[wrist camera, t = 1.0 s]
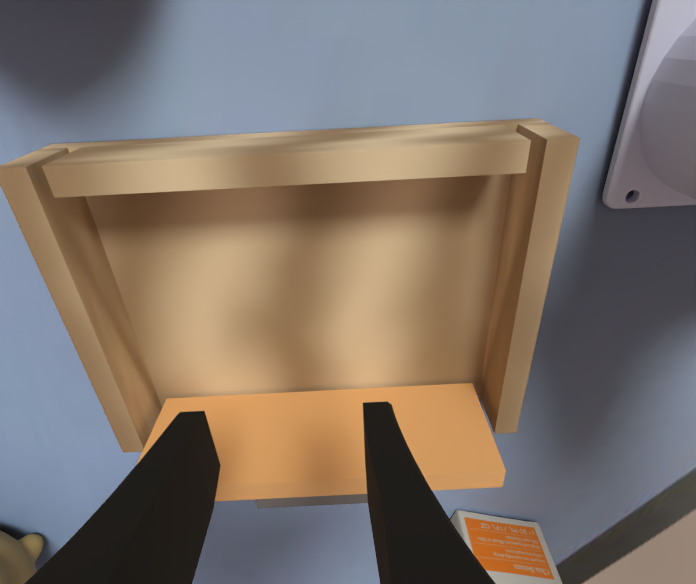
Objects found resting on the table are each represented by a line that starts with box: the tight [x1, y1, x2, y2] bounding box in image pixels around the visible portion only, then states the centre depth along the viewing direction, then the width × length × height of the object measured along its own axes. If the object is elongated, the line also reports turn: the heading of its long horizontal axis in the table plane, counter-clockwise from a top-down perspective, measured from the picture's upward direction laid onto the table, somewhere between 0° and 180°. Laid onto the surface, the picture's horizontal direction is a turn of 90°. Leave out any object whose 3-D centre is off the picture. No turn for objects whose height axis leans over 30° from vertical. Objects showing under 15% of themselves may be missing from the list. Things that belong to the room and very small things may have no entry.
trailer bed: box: [0, 118, 580, 452], centre depth 18 cm, size 18×13×3 cm
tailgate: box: [137, 383, 506, 508], centre depth 20 cm, size 15×2×5 cm, turn 93°
